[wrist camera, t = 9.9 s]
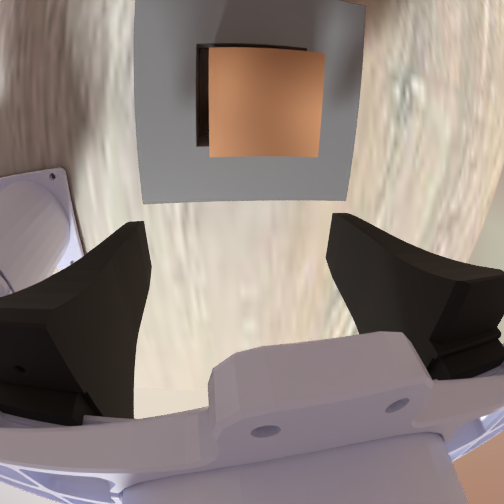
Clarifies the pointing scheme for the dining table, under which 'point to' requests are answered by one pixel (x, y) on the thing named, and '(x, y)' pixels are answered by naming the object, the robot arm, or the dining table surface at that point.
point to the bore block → (187, 97)
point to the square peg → (265, 102)
